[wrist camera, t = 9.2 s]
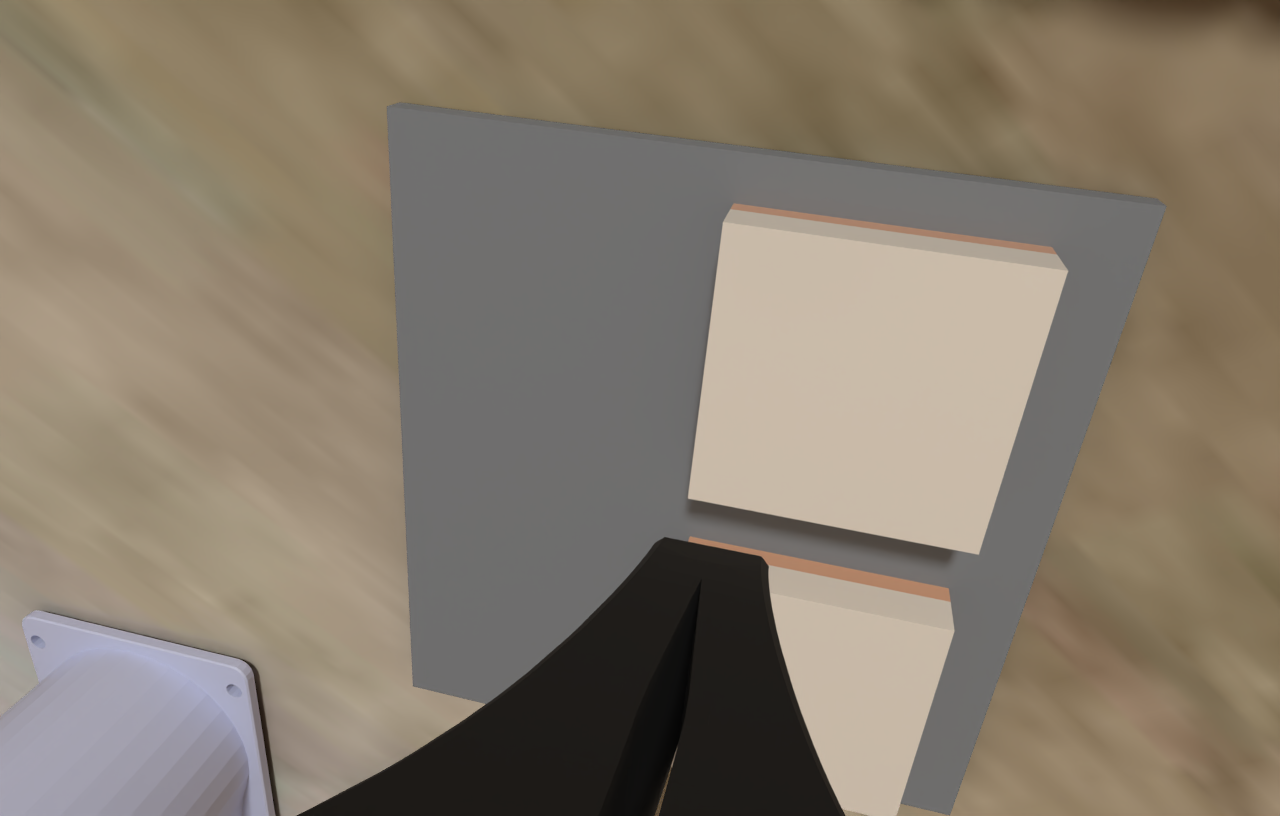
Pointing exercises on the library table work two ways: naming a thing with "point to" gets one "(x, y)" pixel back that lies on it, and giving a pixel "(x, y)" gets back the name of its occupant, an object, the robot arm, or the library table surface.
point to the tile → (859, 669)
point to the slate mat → (677, 383)
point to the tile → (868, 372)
